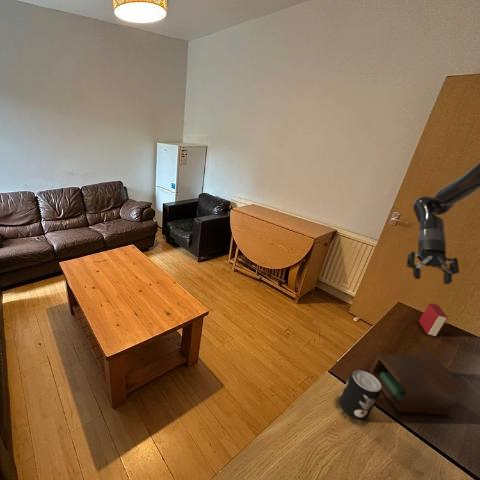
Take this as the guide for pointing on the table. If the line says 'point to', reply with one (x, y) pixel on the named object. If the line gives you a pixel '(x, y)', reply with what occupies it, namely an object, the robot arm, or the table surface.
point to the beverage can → (360, 395)
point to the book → (433, 319)
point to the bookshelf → (417, 383)
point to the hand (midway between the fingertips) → (432, 281)
